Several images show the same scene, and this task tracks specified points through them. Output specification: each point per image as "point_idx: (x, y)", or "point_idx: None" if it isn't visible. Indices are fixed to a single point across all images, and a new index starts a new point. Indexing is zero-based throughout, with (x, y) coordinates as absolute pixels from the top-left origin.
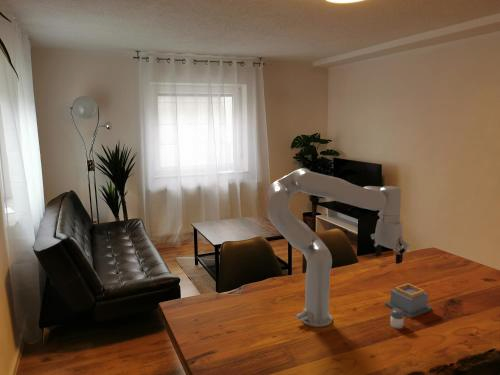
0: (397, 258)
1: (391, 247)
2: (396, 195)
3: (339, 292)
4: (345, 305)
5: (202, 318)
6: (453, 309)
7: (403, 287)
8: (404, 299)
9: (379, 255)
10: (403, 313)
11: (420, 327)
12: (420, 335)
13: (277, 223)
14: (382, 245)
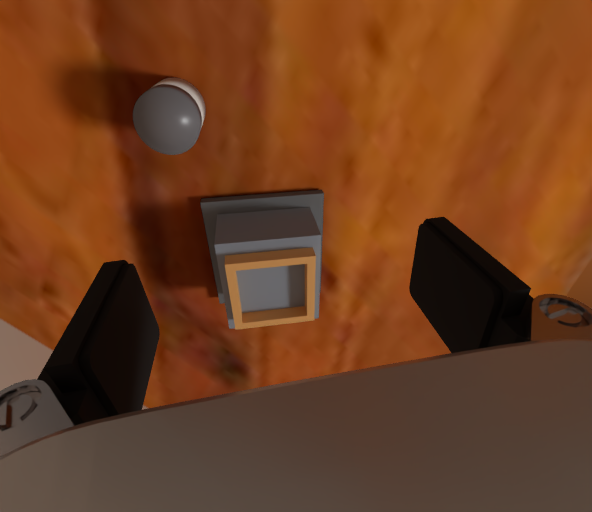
0: (82, 317)
1: (59, 455)
2: None
3: (508, 100)
4: (424, 26)
5: None
6: (197, 344)
7: (305, 288)
8: (247, 235)
9: (415, 263)
10: (137, 131)
11: (134, 183)
12: (78, 135)
13: None
14: (392, 367)
